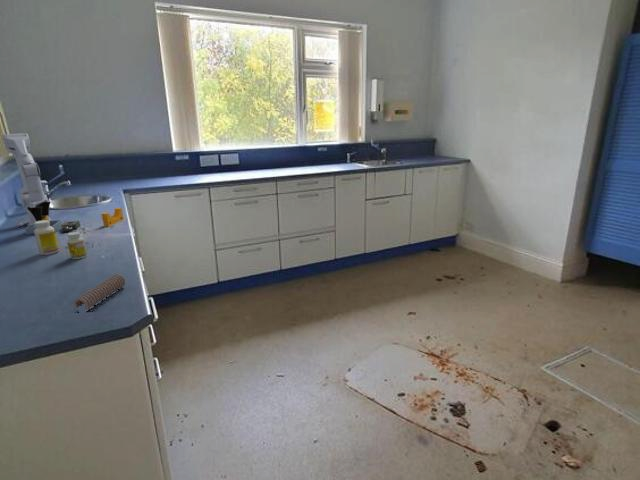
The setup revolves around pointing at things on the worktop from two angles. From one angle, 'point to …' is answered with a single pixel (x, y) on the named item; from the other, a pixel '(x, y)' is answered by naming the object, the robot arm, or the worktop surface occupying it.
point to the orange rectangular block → (45, 217)
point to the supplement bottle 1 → (46, 238)
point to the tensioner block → (70, 226)
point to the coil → (100, 291)
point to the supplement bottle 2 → (76, 245)
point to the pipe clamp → (112, 217)
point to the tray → (55, 224)
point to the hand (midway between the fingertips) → (42, 219)
